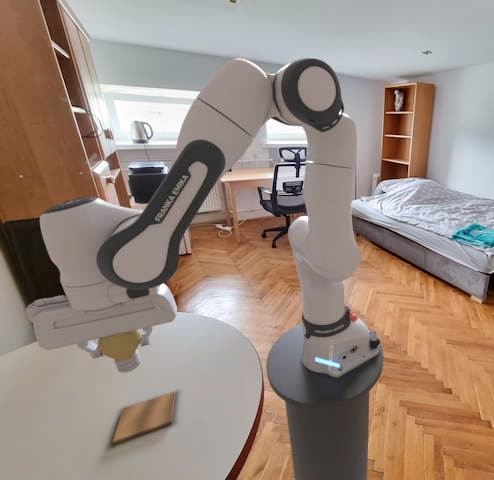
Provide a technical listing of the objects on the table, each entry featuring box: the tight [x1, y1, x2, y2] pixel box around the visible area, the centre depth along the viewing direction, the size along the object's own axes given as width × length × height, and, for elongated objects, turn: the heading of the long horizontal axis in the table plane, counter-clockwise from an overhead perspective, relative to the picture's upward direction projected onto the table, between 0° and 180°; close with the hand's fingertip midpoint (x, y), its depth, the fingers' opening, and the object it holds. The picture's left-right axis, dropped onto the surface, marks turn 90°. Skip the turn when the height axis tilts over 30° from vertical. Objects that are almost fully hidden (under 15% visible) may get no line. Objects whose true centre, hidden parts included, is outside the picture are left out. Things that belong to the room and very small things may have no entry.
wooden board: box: [112, 391, 176, 444], centre depth 62 cm, size 10×8×1 cm
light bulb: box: [97, 329, 142, 373], centre depth 56 cm, size 6×6×10 cm
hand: (123, 349), depth 56 cm, fingers closed on light bulb, 6 cm apart
